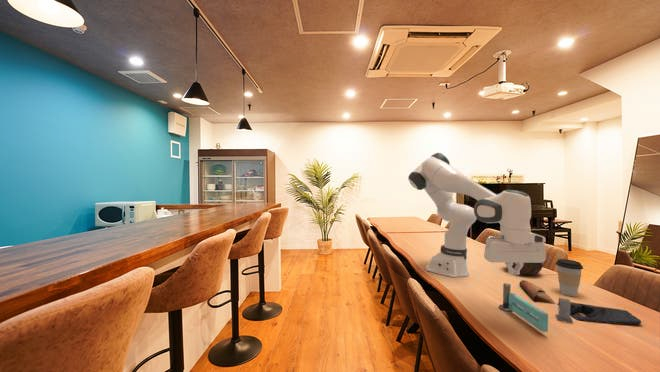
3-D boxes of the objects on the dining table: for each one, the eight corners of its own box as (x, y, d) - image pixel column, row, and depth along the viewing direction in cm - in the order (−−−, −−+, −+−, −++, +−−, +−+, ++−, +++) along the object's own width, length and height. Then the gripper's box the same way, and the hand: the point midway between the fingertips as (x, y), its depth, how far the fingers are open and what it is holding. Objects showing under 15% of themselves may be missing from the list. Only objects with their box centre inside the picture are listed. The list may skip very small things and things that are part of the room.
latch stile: (557, 319, 98) (557, 300, 97) (555, 315, 101) (556, 296, 100) (572, 323, 95) (573, 303, 95) (570, 319, 98) (571, 299, 98)
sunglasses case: (558, 304, 109) (549, 290, 110) (540, 310, 111) (531, 296, 112) (539, 288, 126) (531, 275, 127) (524, 293, 128) (516, 281, 129)
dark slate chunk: (650, 332, 91) (651, 318, 91) (572, 321, 98) (573, 308, 98) (618, 311, 106) (618, 299, 105) (552, 302, 112) (552, 292, 112)
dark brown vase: (540, 271, 150) (541, 223, 150) (545, 281, 135) (546, 227, 135) (503, 265, 160) (504, 220, 159) (503, 274, 145) (505, 224, 144)
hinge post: (498, 309, 105) (499, 285, 105) (499, 304, 109) (499, 281, 109) (514, 313, 102) (514, 288, 102) (513, 308, 106) (514, 283, 106)
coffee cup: (587, 299, 115) (589, 265, 115) (563, 297, 117) (564, 264, 116) (572, 290, 124) (573, 259, 124) (550, 288, 126) (550, 257, 126)
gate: (508, 308, 103) (509, 293, 103) (513, 308, 103) (513, 293, 103) (542, 332, 87) (543, 314, 87) (547, 331, 87) (548, 314, 87)
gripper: (491, 237, 89) (490, 277, 90) (550, 237, 90) (549, 277, 90) (480, 233, 95) (479, 271, 96) (535, 234, 96) (534, 271, 96)
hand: (513, 274), depth 93 cm, fingers closed
